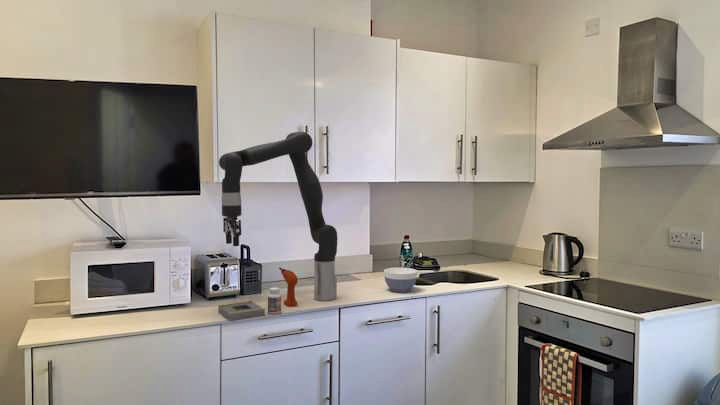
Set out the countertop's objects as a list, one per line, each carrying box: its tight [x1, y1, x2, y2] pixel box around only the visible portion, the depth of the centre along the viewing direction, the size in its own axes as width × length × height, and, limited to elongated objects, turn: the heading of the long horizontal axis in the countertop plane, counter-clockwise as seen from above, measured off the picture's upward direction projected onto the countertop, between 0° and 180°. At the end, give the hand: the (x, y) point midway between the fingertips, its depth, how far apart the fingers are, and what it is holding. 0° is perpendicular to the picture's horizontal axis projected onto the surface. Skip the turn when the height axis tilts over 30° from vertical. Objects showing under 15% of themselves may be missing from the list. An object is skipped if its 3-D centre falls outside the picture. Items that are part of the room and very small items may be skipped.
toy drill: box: [278, 267, 299, 308], centre depth 219 cm, size 5×19×15 cm, turn 29°
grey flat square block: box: [217, 300, 266, 322], centre depth 201 cm, size 14×14×3 cm
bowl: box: [383, 267, 418, 293], centre depth 243 cm, size 16×16×10 cm
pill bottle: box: [267, 286, 282, 315], centre depth 203 cm, size 5×5×10 cm
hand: (232, 244), depth 200 cm, fingers open, 8 cm apart
